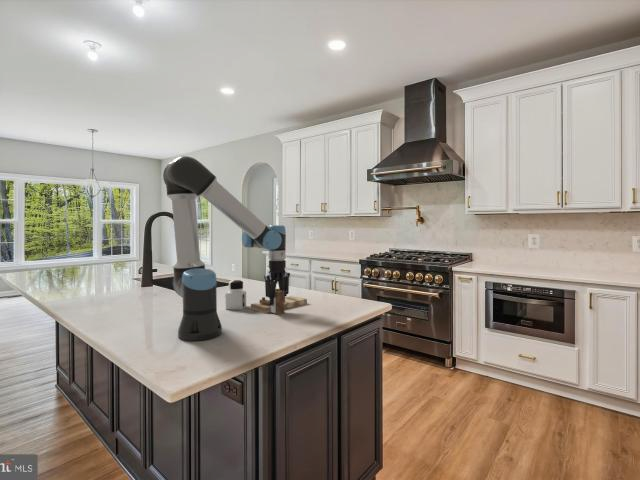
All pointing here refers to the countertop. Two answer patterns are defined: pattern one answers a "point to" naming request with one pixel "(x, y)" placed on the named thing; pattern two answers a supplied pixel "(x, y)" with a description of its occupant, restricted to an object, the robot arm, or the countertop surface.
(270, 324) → the countertop surface
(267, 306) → the board
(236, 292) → the container
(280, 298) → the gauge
